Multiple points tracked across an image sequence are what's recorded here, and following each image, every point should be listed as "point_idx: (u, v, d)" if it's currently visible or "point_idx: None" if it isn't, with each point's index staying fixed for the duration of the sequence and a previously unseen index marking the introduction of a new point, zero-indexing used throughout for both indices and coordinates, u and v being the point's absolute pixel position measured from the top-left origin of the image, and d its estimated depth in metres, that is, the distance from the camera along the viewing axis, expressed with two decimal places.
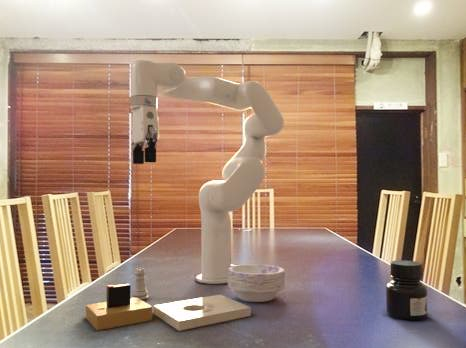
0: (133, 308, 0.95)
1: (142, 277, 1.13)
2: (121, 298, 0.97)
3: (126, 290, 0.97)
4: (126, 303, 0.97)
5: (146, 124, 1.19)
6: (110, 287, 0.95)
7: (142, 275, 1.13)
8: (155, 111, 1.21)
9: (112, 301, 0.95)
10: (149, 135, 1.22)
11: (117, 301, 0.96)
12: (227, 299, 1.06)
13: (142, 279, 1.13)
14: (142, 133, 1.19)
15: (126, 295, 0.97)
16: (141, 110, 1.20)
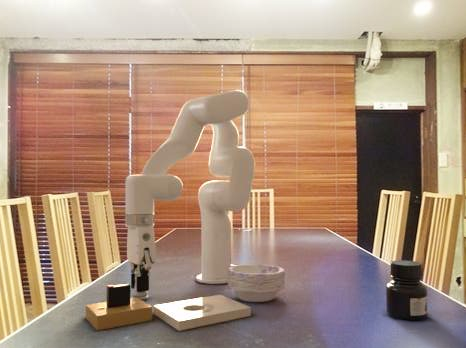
0: (133, 308, 0.95)
1: None
2: (121, 298, 0.97)
3: (126, 290, 0.97)
4: (126, 303, 0.97)
5: (142, 247, 1.10)
6: (110, 287, 0.95)
7: None
8: (152, 231, 1.12)
9: (112, 301, 0.95)
10: None
11: (117, 301, 0.96)
12: (227, 299, 1.06)
13: None
14: (137, 257, 1.10)
15: (126, 295, 0.97)
16: (136, 231, 1.11)
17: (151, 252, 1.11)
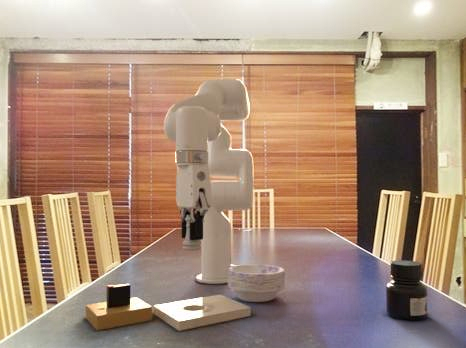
0: (133, 308, 0.95)
1: None
2: (121, 298, 0.97)
3: (126, 290, 0.97)
4: (126, 303, 0.97)
5: (197, 188, 0.95)
6: (110, 287, 0.95)
7: None
8: (207, 170, 0.97)
9: (112, 301, 0.95)
10: None
11: (117, 301, 0.96)
12: (227, 299, 1.06)
13: None
14: (192, 199, 0.95)
15: (126, 295, 0.97)
16: (190, 169, 0.96)
17: (207, 194, 0.96)
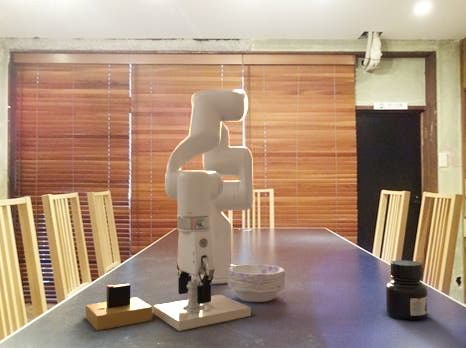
0: (133, 308, 0.95)
1: None
2: (121, 298, 0.97)
3: (126, 290, 0.97)
4: (126, 303, 0.97)
5: (199, 255, 0.94)
6: (110, 287, 0.95)
7: (196, 289, 0.98)
8: (209, 236, 0.96)
9: (112, 301, 0.95)
10: (202, 266, 0.96)
11: (117, 301, 0.96)
12: (227, 299, 1.06)
13: None
14: (194, 267, 0.94)
15: (126, 295, 0.97)
16: (192, 236, 0.95)
17: (209, 260, 0.96)
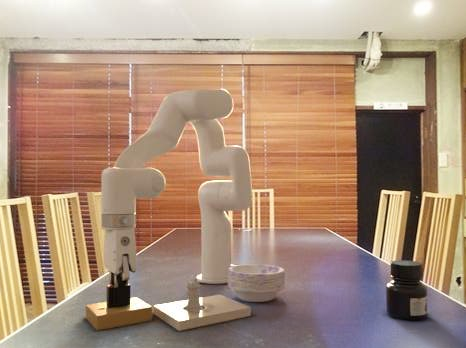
0: (133, 308, 0.95)
1: (196, 291, 0.98)
2: None
3: None
4: None
5: (120, 254, 0.93)
6: (110, 287, 0.95)
7: (196, 289, 0.98)
8: (132, 234, 0.95)
9: (112, 301, 0.95)
10: None
11: None
12: (227, 299, 1.06)
13: (197, 294, 0.98)
14: (115, 265, 0.93)
15: None
16: (113, 234, 0.93)
17: (131, 259, 0.94)
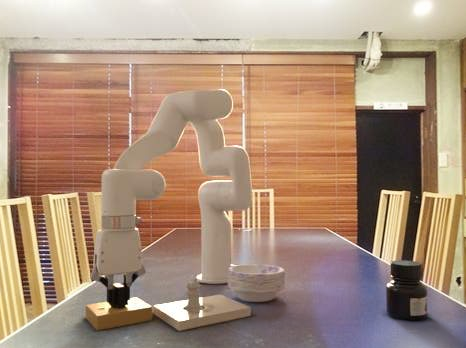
0: (133, 308, 0.95)
1: (196, 291, 0.98)
2: None
3: None
4: None
5: None
6: (124, 287, 0.96)
7: (196, 289, 0.98)
8: None
9: None
10: None
11: None
12: (227, 299, 1.06)
13: (197, 294, 0.98)
14: (139, 262, 0.98)
15: None
16: (136, 233, 0.97)
17: None
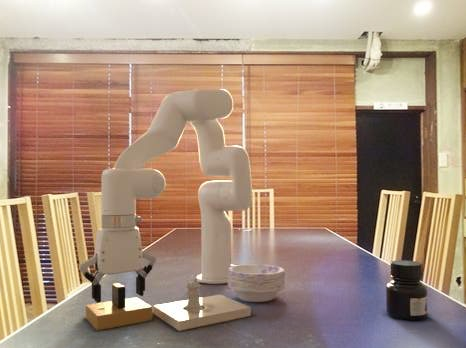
0: (133, 308, 0.95)
1: (196, 291, 0.98)
2: None
3: None
4: None
5: (141, 250, 0.99)
6: (124, 287, 0.96)
7: (196, 289, 0.98)
8: None
9: None
10: None
11: None
12: (227, 299, 1.06)
13: (197, 294, 0.98)
14: (140, 261, 0.98)
15: None
16: (136, 232, 0.98)
17: None
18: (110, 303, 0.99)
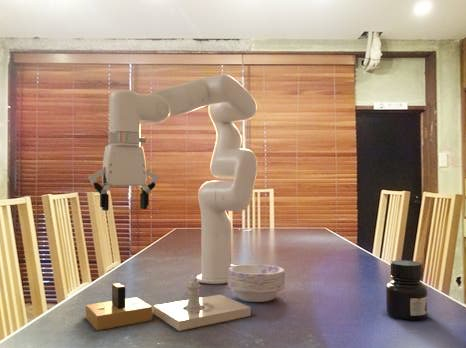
0: (133, 308, 0.95)
1: (196, 291, 0.98)
2: None
3: None
4: None
5: None
6: (124, 287, 0.96)
7: (196, 289, 0.98)
8: None
9: None
10: None
11: None
12: (227, 299, 1.06)
13: (197, 294, 0.98)
14: (144, 177, 1.07)
15: None
16: (141, 150, 1.07)
17: None
18: (110, 303, 0.99)
